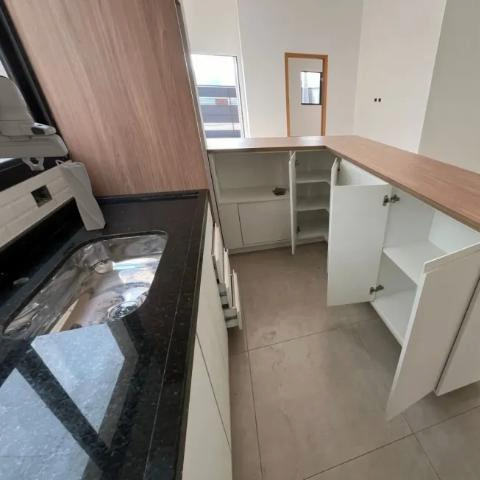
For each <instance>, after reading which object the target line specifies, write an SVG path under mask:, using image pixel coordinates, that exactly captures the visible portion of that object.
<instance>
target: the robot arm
mask: <svg viewBox="0 0 480 480" xmlns="http://www.w3.org/2000/svg"><path fill="white" fill-rule="evenodd" d="M56 133H57V130H56V128H55V127H54V126H51V125H46V124H42V123H38V122H35V121H34V118H33V117H32V116H31V114H30V113H29V111H28V106H27V103H26V101H25V98H24V96H23V94H22V92H21V91H20V89H19V88H18V86H17V84H16V83H15V82H14V81H13V80H12V79H11V78H10V77H7V76H5V75H1V74H0V160H2V159H3V160H5V159H21V161H22V162H23V163H25V164H26V165H28V167H30V170H31V171H44V170H45V167H44V165H43V164H44V160H45V158H53V157H54V158H55V157H66V156H67V155H68V153H69V150H68V147H67V146H66V144H65V142H64V140H63V139H62V137H61V136H60V135H58V134H56ZM31 158H35V161H38V163H36V164H35V163H33V162H32V161H31Z"/></svg>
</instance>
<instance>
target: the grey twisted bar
mask: <svg viewBox="0 0 480 480" xmlns="http://www.w3.org/2000/svg"><path fill="white" fill-rule="evenodd" d="M59 162H60V163H62V164H64V165H63V166H61V165H60V164H59ZM55 163H56V165H57V166H58V168H59V170H60V174H61V176H62V178H63V180H64V182H65V184H66V186H67V188H68V190H69V191H70V193H71V195H72V196H73V197H74V199H75V203H76V206H77V209H78V212H79V214H80V217H81V220H82V222H83V224H84V227H85V230H86V231H93V230H95V231H96V230H102V229H104V228H105V226H106V224H107V223H106V221H105V218H104V214H103V213H102V209H101V208H100V206H99V204H98V201H97V200H96V198H95V197H94V195H93V189H92V184H91V180H90V176H89V174H88V170H87V168H86V165H85V164H84V163H82V162H79V161H74V162H68V163H66V162H65V161H62V160H60V159H55Z"/></svg>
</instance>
